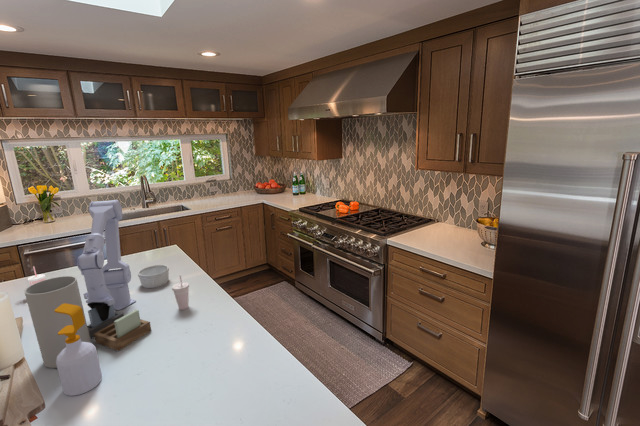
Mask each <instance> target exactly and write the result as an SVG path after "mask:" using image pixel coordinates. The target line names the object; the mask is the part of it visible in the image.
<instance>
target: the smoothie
mask: <svg viewBox="0 0 640 426" xmlns="http://www.w3.org/2000/svg"><path fill="white" fill-rule="evenodd" d="M179 281H180V282H176V283H175V284H173V285H172V286H171V290H172V291H173V294H174V297H175V300H176V301H175V302H176V304H177V307H178V309H179V310H181V311H182V310H186V309H188V308H189V305H190V304H189V297H190V295H189V291H190V290H189V288H190V284H189V282H188V281H187V282H185V281H183V280H182V275H179Z"/></svg>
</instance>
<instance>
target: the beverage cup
mask: <svg viewBox="0 0 640 426" xmlns="http://www.w3.org/2000/svg"><path fill="white" fill-rule="evenodd" d="M32 268H33V272H34V275H31V276H29V277H28V278H27V281H28V283H29V286H31V285H33V284H35V283H38V282H40V281H43V280H46V274H45V273H44V274H43V273H41V274H37V272H36V267H35V265H33V266H32Z"/></svg>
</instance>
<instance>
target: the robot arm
mask: <svg viewBox="0 0 640 426" xmlns="http://www.w3.org/2000/svg"><path fill="white" fill-rule="evenodd" d="M122 210H123V209H122V203H121V202H120V201H119V199H111V200H99V201H95V200H94V201H93V200H91V202H90V203H89V204H88V211H89V212H88V213H89V215H90V216H91V219H92V222H91V229H90V230H91V231H90V234H89V235H87V236H86V239H85V242H84V247H83V250H82V253H81V255H79V256H78V257H77V261H76V262H77V268H78V270H79V271H80V273H81V275H82V276H83V278H84V279H83V280H84V282H85V288H86V292H85V293H83V298H84V300H85V303H86V304H87V305H86V306H88V307H89V308H90V310H91V309H93V308H95V309H96V310H97V311H98V313H99V316H100V319H101V320H102V321H104V320H106V319H108V316H109V309H110V305H113V306H114V311H121V310H123V309H124V308H126V307H128V306H130V305H133V304H134V303H136V302H137V300H136V299H132V298H131V294H130V290H129V289H130V288H129V283H130V282H131V280H132V272H131V268H130V265H129V264H128V263H126V262H125V261H122V256H121V242H120V240H121V239H120V229H119V222H120V221H121V220H123V211H122ZM103 234H104V236H103ZM104 246H105V250H106V260H107V261H106V262H107V263H106V264H105V258H104V256H105V254H104V252H103V250H104Z"/></svg>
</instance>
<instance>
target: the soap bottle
mask: <svg viewBox="0 0 640 426" xmlns="http://www.w3.org/2000/svg"><path fill="white" fill-rule="evenodd" d="M54 312H56V313H62V314H67V315H69V316H70V317H71V318H72V322H73V325H68V326H65V327H64V328H63V329H61V330H60V331H59V332H58V335H65V336H68V338H67V339H66V340H65V343H66V348H65V349H63V350H62V351H61V352H60V353H59V355H58V356H57V359H56V365H57V368H56V369H57V373H58V376H59V380H60V384H61V387H62V391H63V393H64V394H65V395H66V396H71V397H73V396H74V397H75V396H79V395H82V394H85V393H87V392H89V391H91V390H92V389H93V390H94V388H95V387H97V386H98V385H99V384H100V383H101V380H102V379H103V375H102V374H103V372H102V370H101V365H100V360H99V356H98V352H97V347H96V346H95V345H94V344H93V342H91V343H89V342H81V339H80V335H76V334H75V333H77V330H79V329H80V328H81V327H82V326H83V325H84V324H85V319H84V315H83V311H82V308H81V307H80V306H78V305H72V304H67V303H64V304H62V305H60V306H59V307H58V308H56V309H55V311H54Z"/></svg>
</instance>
